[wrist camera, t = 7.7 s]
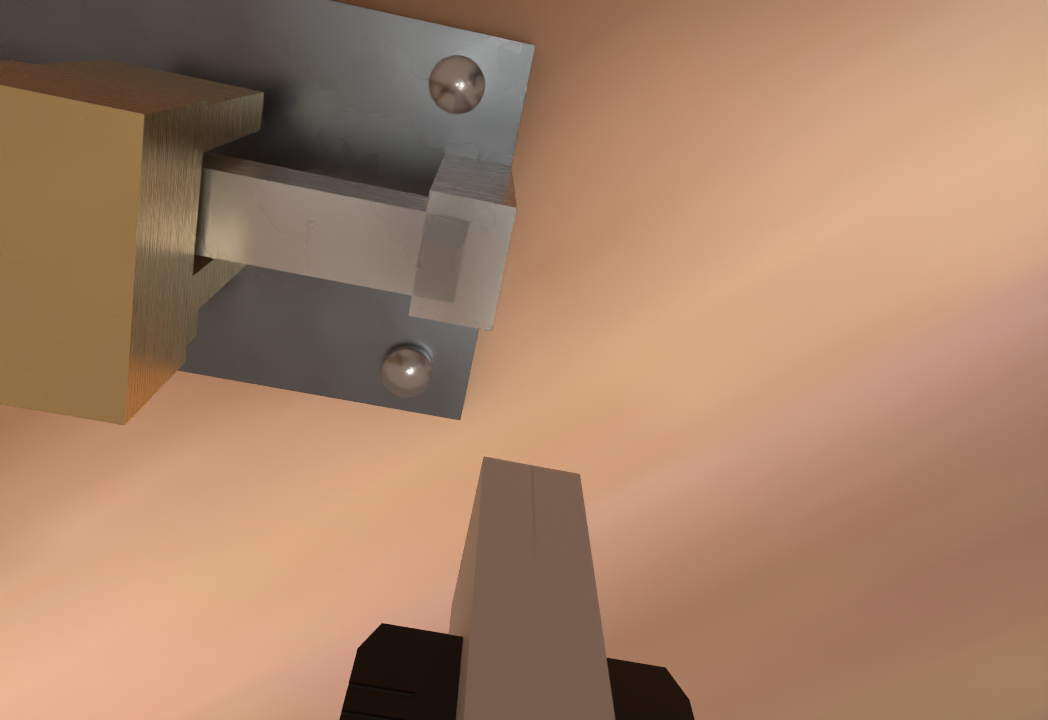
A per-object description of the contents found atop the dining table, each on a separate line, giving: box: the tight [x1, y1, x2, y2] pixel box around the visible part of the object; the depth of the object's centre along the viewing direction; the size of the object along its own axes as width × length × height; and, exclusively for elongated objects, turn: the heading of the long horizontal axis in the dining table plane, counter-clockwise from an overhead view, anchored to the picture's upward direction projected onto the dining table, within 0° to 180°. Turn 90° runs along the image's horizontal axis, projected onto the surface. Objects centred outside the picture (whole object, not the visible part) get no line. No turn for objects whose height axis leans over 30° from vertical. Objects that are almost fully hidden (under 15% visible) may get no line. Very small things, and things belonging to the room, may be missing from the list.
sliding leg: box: [0, 60, 264, 425], centre depth 21 cm, size 7×4×10 cm, turn 168°
